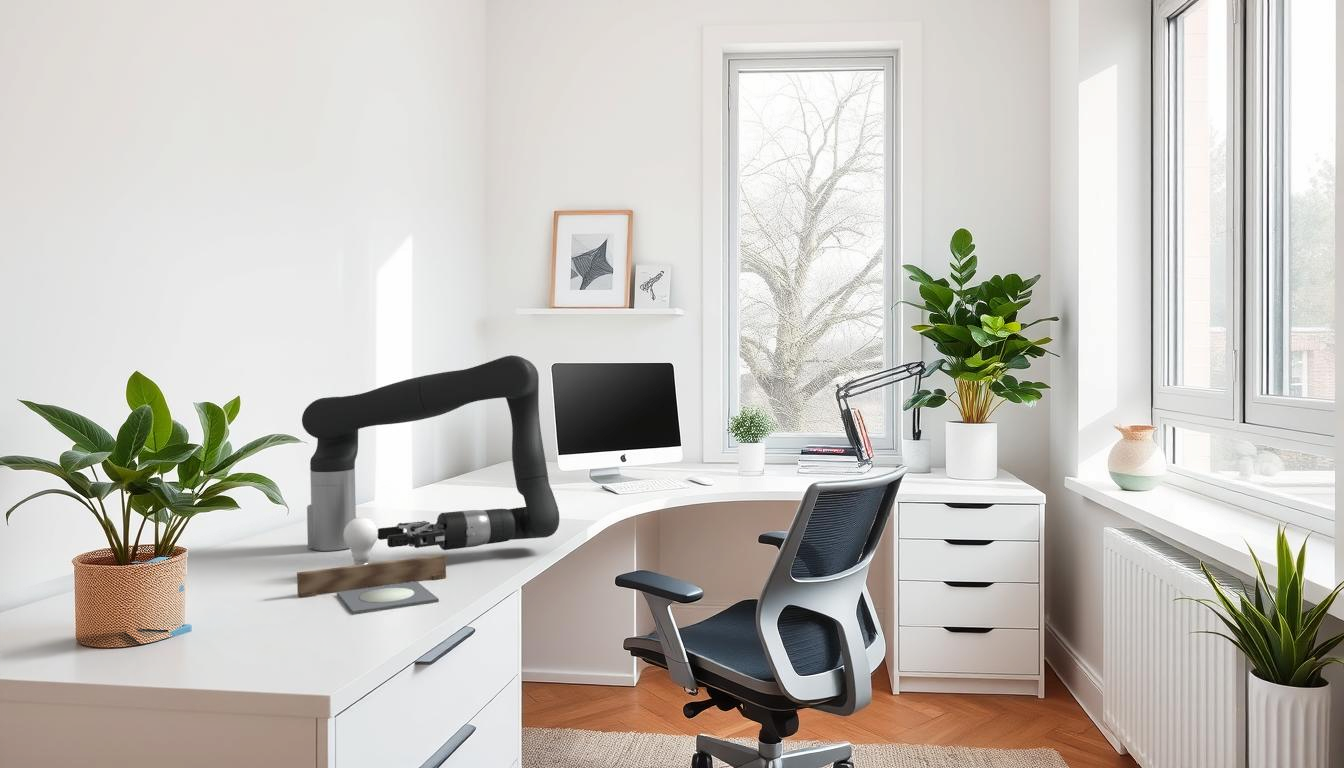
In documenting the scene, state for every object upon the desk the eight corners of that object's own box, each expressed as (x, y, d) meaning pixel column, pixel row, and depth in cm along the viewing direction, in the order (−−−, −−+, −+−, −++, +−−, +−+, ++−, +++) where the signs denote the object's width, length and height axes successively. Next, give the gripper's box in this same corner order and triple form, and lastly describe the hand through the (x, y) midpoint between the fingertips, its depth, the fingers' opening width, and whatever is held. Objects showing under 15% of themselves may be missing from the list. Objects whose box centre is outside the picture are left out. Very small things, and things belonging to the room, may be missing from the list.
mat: (353, 614, 144) (353, 610, 144) (337, 595, 156) (337, 591, 156) (438, 601, 152) (438, 597, 152) (417, 584, 164) (417, 580, 164)
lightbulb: (372, 577, 169) (371, 520, 169) (338, 577, 169) (337, 520, 169) (383, 569, 175) (382, 514, 175) (351, 569, 175) (350, 514, 175)
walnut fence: (299, 598, 155) (299, 575, 155) (296, 594, 157) (296, 571, 157) (447, 578, 168) (446, 557, 168) (442, 574, 171) (442, 554, 170)
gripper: (452, 506, 188) (374, 513, 180) (474, 516, 176) (391, 524, 168) (453, 541, 189) (374, 550, 180) (475, 553, 176) (391, 563, 168)
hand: (382, 537), depth 174 cm, fingers open, 8 cm apart
